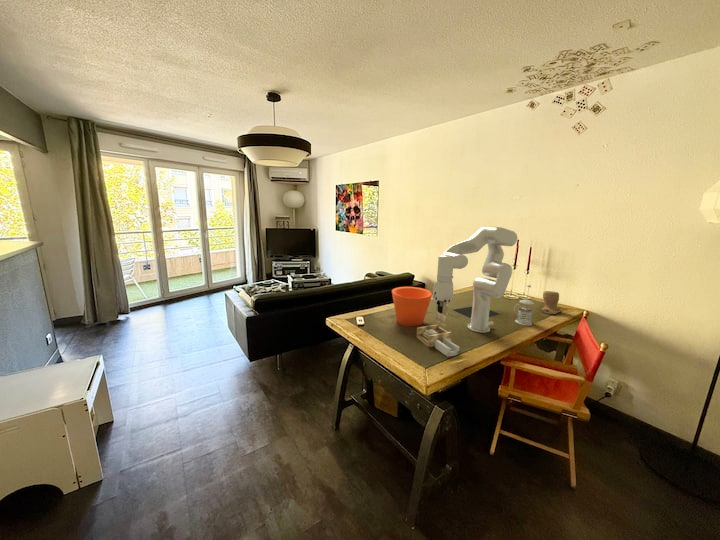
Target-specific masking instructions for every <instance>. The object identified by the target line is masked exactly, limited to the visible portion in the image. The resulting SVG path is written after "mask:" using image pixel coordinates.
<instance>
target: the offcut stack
mask: <svg viewBox="0 0 720 540" xmlns="http://www.w3.org/2000/svg"><path fill="white" fill-rule="evenodd" d="M434 334H438V333H437V332H435V331H434V330H432V329H429V330H425V332H423V338H425V339H426V340H427V341H428V336H429V335H434Z"/></svg>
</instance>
